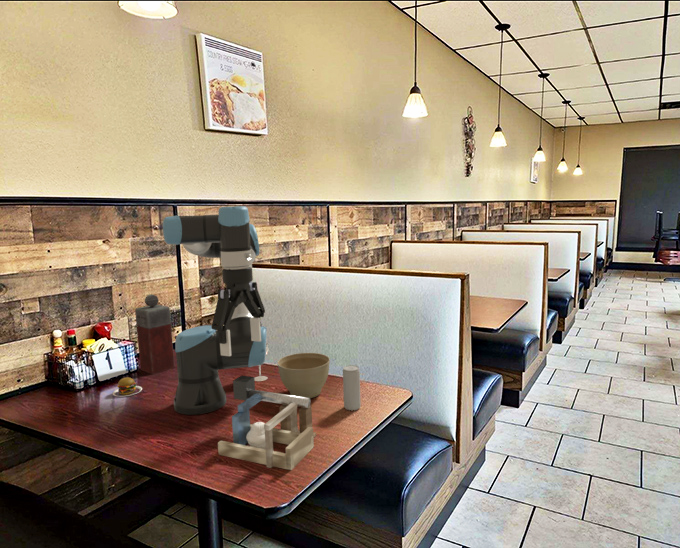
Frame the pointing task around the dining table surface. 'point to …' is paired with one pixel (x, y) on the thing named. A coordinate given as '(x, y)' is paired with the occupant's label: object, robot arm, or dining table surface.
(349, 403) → the beverage can
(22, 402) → the dining table surface
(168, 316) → the red decanter
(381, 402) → the dining table surface
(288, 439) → the beige open frame
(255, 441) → the white lumpy mound
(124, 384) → the hamburger
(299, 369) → the planter bowl
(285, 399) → the hammer
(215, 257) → the robot arm
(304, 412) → the cream cubby shelf
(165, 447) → the dining table surface
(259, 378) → the wineglass
